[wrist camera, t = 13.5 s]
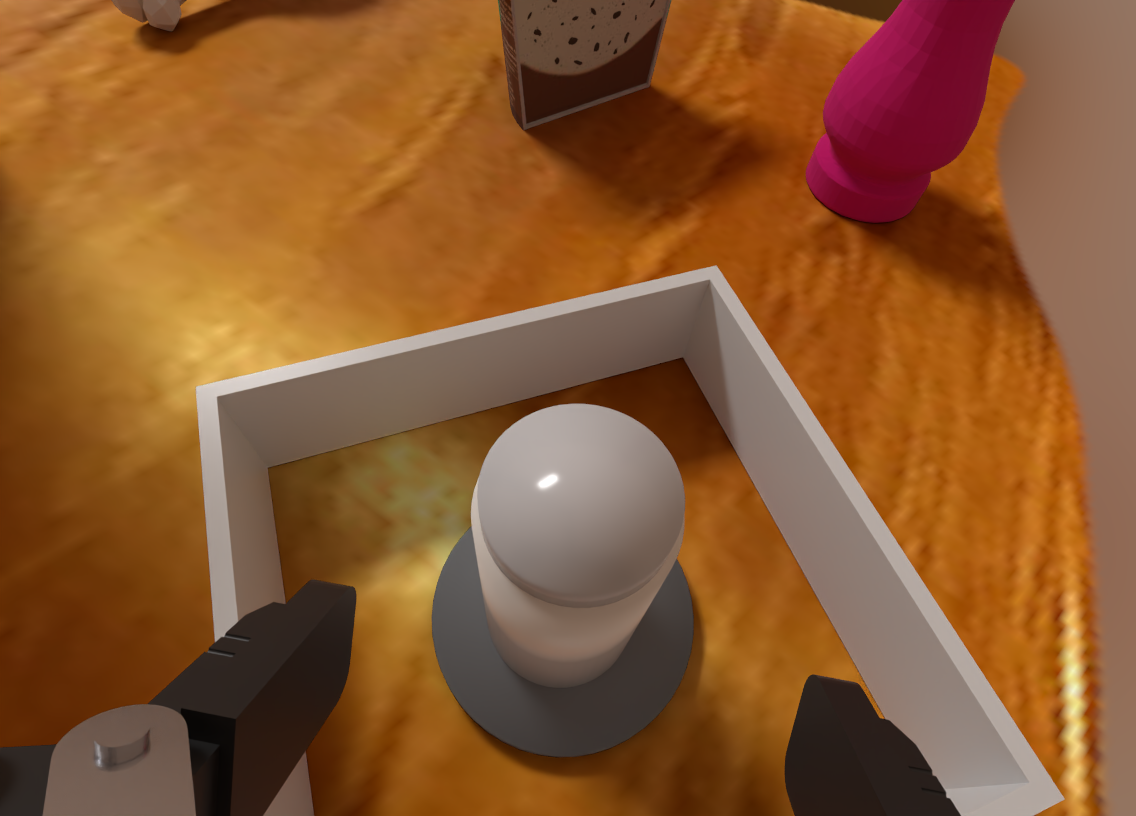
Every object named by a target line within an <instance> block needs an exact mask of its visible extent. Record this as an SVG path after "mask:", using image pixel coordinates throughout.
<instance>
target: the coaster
mask: <svg viewBox="0 0 1136 816" xmlns="http://www.w3.org/2000/svg"><path fill="white" fill-rule="evenodd" d="M693 619H694V616H693V608H692V600H691V596H690V592H689V588H688V584H687V581H686V578H685V576H684V573H683V571H682V568H681V566H680V564H679V562H678V560H677V559H676V561H675V563H674V565H673V567H672V569H671V570H670V572H669V574H668V575H667V577H666V579H665V580H664V582H663V584H662V585H661V587H660V589H659V591H658V592H657V594H656V596H655V597H654V599H653V601H652V602H651V604H650V606H649V607H648V609H647V611H646V613H645V614H644V616H643V618H642V619H641V621H640V623H639V624H638V626H637V628H636V629H635V631H634V633H633V635H632V636H631V638H630V640H629V641H628V643H627V645H626V646H625V648H624V650H623V651H622V653H621V655H620V656H619V658H618V659H617V660H616V662H615V663H614V664H613V665H612V666H611V667H610V668H609V669H608V670H607V671H606V672H604V673H603V674H602V675H600V676H599V677H597V678H596V679H594V680H592V681H589V682H587V683H585V684H582V685H578V686H574V687H567V688H553V687H546V686H542V685H538V684H535V683H533V682H531V681H528V680H526V679H525V678H523V677H521V676H520V675H518V674H517V673H516V672H514V671H513V670H512V669H511V668H510V667H509V666H508V665H507V664H506V663H505V662H504V661H503V659H502V658H501V657H500V655H499V654H498V652H497V650H496V648H495V646H494V644H493V642H492V639H491V637H490V633H489V629H488V624H487V618H486V612H485V606H484V600H483V593H482V587H481V581H480V575H479V569H478V563H477V557H476V551H475V544H474V538H473V532H472V526H471V527H470V528H469V529H468V530H467V532H466V533H465V534H464V535H463V536H462V537H461V538H460V540H459V541H458V542H457V544H456V545H455V547H454V548H453V550H452V551H451V553H450V555H449V557H448V559H447V561H446V562H445V564H444V566H443V569H442V571H441V574H440V577H439V580H438V582H437V586H436V591H435V595H434V600H433V610H432V634H433V641H434V646H435V652H436V656H437V659H438V662H439V665H440V668H441V671H442V673H443V676H444V678H445V680H446V682H447V684H448V686H449V688H450V690H451V692H452V693H453V695H454V696H455V698H456V699H457V701H458V702H459V704H460V705H461V707H462V708H463V709H464V710H465V711H466V712H467V714H468V715H469V716H470V717H471V718H472V719H473V720H474V721H475V722H476V723H477V724H478V725H480V726H481V727H482V728H483V729H484V730H485V731H487V732H488V733H489V734H491V735H493V736H494V737H496V738H497V739H499V740H500V741H502V742H504V743H506V744H508V745H511V746H513V747H515V748H517V749H519V750H523V751H526V752H530V753H533V754H537V755H543V756H551V757H577V756H583V755H589V754H594V753H597V752H600V751H603V750H606V749H609V748H612V747H614V746H616V745H618V744H620V743H622V742H624V741H626V740H628V739H629V738H631V737H632V736H634V735H635V734H636V733H638V732H639V731H641V730H642V729H643V728H645V727H646V726H647V725H648V724H649V723H650V722H651V721H652V720H653V719H654V718H655V717H657V716H658V715H659V713H660V712H661V711H662V710H663V708H664V707H665V706H666V705H667V704H668V702H669V701H670V700H671V698H672V696H673V695H674V693H675V691H676V690H677V688H678V686H679V684H680V682H681V680H682V677H683V675H684V673H685V670H686V668H687V664H688V660H689V657H690V653H691V648H692V641H693Z"/></svg>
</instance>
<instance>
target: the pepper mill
mask: <svg viewBox="0 0 1136 816" xmlns="http://www.w3.org/2000/svg"><path fill="white" fill-rule="evenodd" d="M1014 1H1015V0H902V2H901V3H900V4H899V6H898V7H897V8H896V10H895V11H894V13H893V14H892V16H890V18H889V19H888V20H887V21H886V22H885V23H884V24H883V25H882V27H881V28H880V29H879V30H878V31H877V32H876V33H875V34H874V35H873V36H872V37H871V38H870V39H869V40H868V41H867V42H866V43H865V45H864V46H863V47H862V48H861V49H860V50H859V51H858V52H857V53H856V54H855V55H854V56H853V57H852V58H851V59H850V61H849V62H848V63H847V65H846V66H845V67H844V69H843V70H842V71H841V73H840V74H839V75H838V77H837V79H836V81H835V83H834V85H833V87H832V89H831V91H830V93H829V95H828V97H827V99H826V101H825V105H824V110H823V121H824V125H825V129H826V132H827V133H826V134H825V135H824V136H823V137H822V138H821V139H820V140H819V142H818V143H817V145H816V148H815V150H814V152H813V155H812V157H811V159H810V161H809V164H808V166H807V169H806V180H807V183H808V185H809V188H810V190H811V191H812V193H813V194H814V195H815V197H816V198H817V199H818V200H820V201H821V202H822V203H823V204H824V205H825V206H826V207H828V208H829V209H831V210H833V211H835V212H836V213H838V214H840V215H842V216H845V217H848V218H851V219H855V220H858V221H863V222H871V223H881V222H891V221H894V220H897V219H900V218H902V217H904V216H906V215H907V214H909V213H910V212H911V211H912V209H913V208H914V207H915V205H916V204H917V202H918V201H919V199H920V197H921V196H922V194H923V193H924V191H925V190H926V188H927V187H928V185H929V182H930V178H931V172H932V171H935V170H937V169H939V168H941V167H943V166H945V165H947V164H949V163H950V162H951V161H953V160H954V159H955V158H956V157H957V156H958V155H959V154H960V153H961V152H962V150H963V149H964V147H965V146H966V144H967V142H968V140H969V138H970V137H971V135H972V133H973V131H974V129H975V127H976V126H977V123H978V120H979V117H980V114H981V111H982V108H983V105H984V101H985V95H986V89H987V83H988V77H989V71H990V66H991V62H992V57H993V53H994V49H995V45H996V42H997V40H998V37H999V34H1000V31H1001V28H1002V25H1003V22H1004V21H1005V19H1006V17H1007V15H1008V13H1009V10H1010V8H1011V7H1012V5H1013V3H1014Z"/></svg>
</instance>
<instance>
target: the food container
mask: <svg viewBox="0 0 1136 816" xmlns="http://www.w3.org/2000/svg"><path fill="white" fill-rule="evenodd" d="M498 4H499V12H500V21H501V29H502V38H503V47H504V55H505V64H506V72H507V81H508V89H509V98H510V106H511V110H512V114H513V116H514V118H515V120H516V122H517V123H518V124H519V125H520V127H521V128H522V129H523V130H525V129H528V128H531V127H534V126H537V125H540V124H543V123H546V122H549V121H552V120H554V119H557V118H560V117H563V116H566V115H569V114H572V113H575V112H578V111H580V110H583V109H586V108H589V107H592V106H595V105H598V104H601V103H604V102H607V101H609V100H612V99H615V98H618V97H621V96H624V95H627V94H630V93H633V92H635V91H638V90H641V89H644V88H647V87H650V83H651V79H652V75H653V71H654V67H655V63H656V59H657V55H658V51H659V47H660V43H661V39H662V35H663V31H664V27H665V23H666V19H667V16H668V12H669V8H670V4H671V0H498Z"/></svg>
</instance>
